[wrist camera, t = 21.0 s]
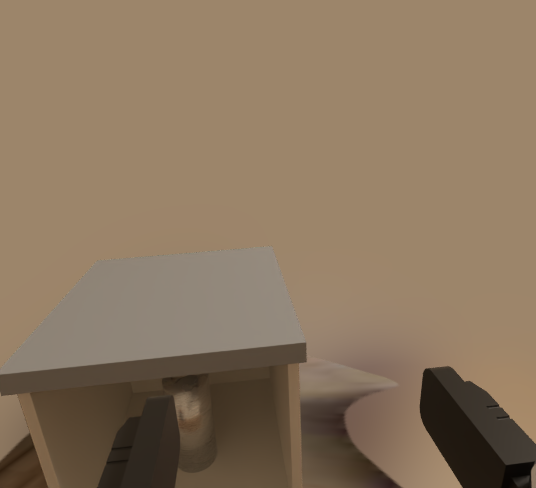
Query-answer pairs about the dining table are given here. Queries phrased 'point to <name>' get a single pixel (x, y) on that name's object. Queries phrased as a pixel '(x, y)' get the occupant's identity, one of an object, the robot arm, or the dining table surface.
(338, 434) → the dining table surface
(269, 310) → the under-counter cabinet
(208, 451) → the chrome cylinder
